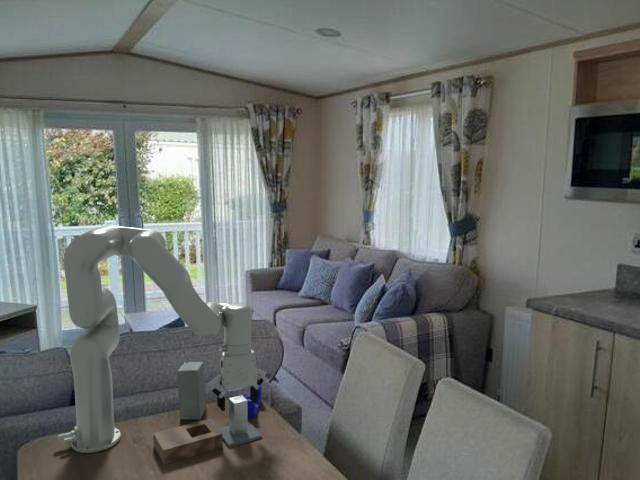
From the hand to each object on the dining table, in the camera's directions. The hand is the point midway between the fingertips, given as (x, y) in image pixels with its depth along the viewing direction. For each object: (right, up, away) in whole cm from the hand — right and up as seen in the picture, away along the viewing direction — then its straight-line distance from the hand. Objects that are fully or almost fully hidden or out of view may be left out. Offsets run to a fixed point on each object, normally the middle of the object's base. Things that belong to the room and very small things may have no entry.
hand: (237, 405), depth 142 cm
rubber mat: (0, -9, +1) cm, 9 cm away
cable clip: (+2, -7, +16) cm, 18 cm away
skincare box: (-16, -7, +13) cm, 22 cm away
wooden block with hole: (-13, -10, -6) cm, 17 cm away
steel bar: (0, -8, +1) cm, 8 cm away
